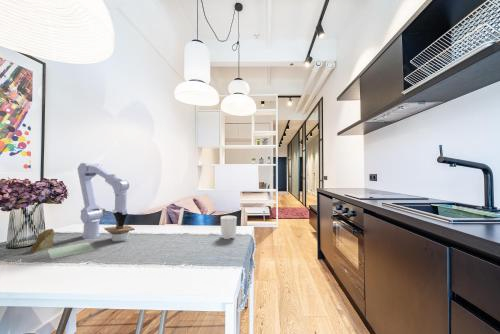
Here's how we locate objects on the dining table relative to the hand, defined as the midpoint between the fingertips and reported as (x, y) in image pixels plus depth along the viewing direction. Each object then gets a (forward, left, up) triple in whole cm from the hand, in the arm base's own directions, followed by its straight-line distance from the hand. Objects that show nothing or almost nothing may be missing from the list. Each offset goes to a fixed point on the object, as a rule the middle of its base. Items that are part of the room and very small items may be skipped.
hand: (120, 225), depth 123 cm
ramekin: (0, 0, -8) cm, 8 cm away
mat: (+2, -22, -8) cm, 23 cm away
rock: (-10, -32, -8) cm, 35 cm away
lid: (0, 0, -2) cm, 2 cm away
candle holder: (+42, +46, -8) cm, 63 cm away
